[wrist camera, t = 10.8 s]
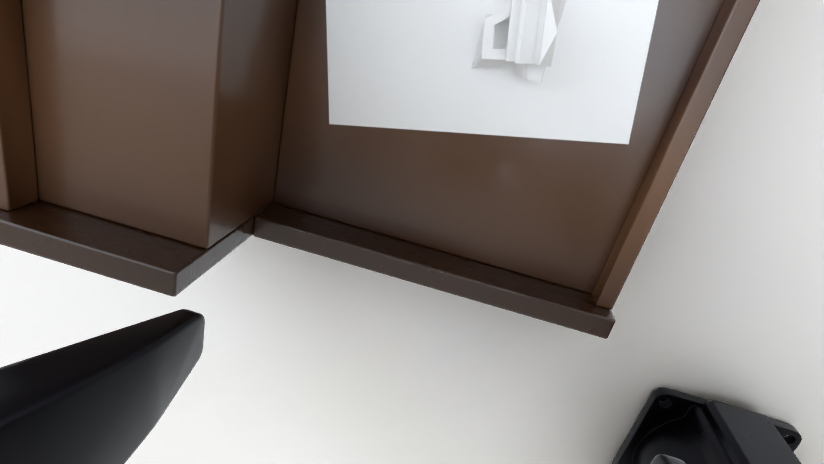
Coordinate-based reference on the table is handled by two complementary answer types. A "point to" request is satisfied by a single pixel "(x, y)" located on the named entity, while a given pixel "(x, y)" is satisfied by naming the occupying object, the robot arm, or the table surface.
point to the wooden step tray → (321, 156)
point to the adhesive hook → (489, 66)
